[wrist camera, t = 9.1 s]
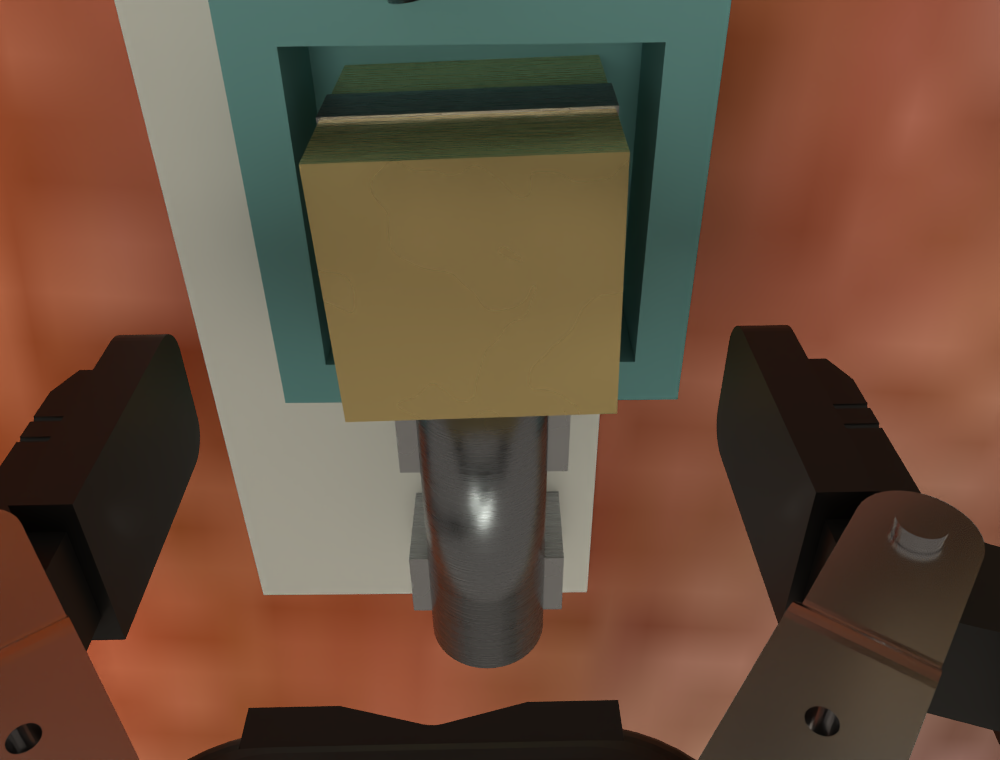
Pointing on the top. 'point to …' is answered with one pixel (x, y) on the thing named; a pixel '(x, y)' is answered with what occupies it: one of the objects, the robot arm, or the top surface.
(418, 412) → the yellow cube
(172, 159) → the base plate
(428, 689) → the top surface
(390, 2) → the shaft
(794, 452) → the robot arm
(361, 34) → the cradle
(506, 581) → the shaft
